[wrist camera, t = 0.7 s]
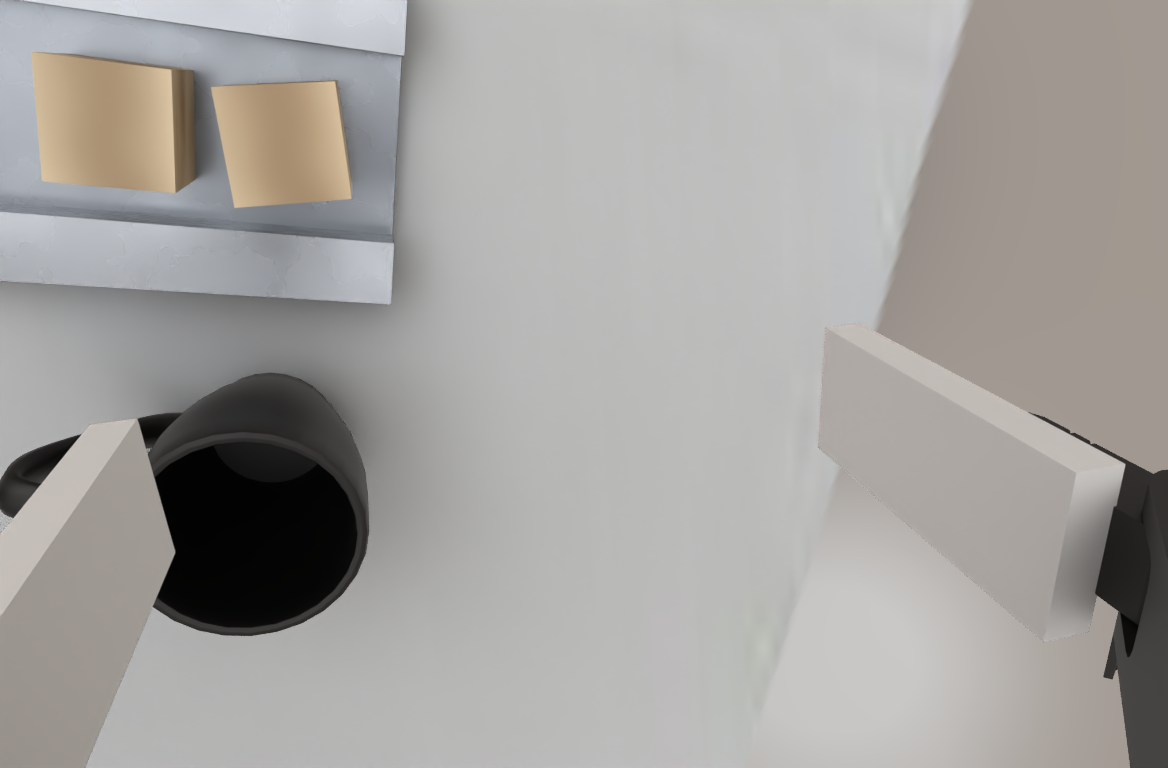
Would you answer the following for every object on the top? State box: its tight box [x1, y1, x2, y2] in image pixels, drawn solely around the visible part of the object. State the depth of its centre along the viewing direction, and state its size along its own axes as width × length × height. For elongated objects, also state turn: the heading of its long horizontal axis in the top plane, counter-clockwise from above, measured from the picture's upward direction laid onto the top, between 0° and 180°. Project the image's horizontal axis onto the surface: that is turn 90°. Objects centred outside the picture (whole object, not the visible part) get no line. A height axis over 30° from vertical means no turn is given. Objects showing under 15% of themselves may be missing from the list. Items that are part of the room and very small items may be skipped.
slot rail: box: [0, 0, 407, 304], centre depth 30 cm, size 15×12×3 cm
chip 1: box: [31, 52, 196, 193], centre depth 29 cm, size 4×4×4 cm
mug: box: [0, 373, 369, 636], centre depth 32 cm, size 8×12×10 cm
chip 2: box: [211, 80, 352, 208], centre depth 30 cm, size 4×4×4 cm
